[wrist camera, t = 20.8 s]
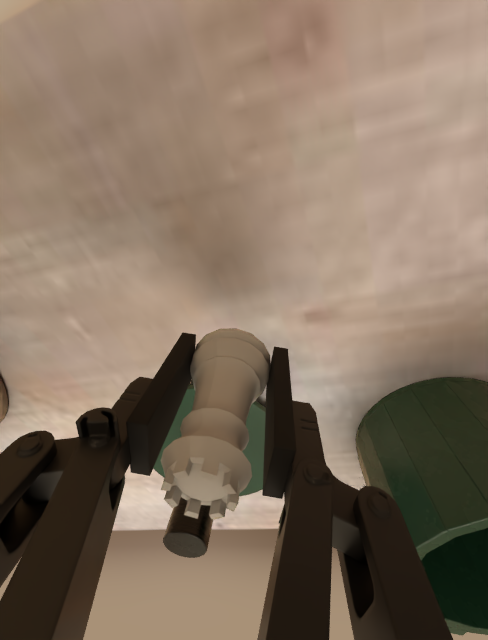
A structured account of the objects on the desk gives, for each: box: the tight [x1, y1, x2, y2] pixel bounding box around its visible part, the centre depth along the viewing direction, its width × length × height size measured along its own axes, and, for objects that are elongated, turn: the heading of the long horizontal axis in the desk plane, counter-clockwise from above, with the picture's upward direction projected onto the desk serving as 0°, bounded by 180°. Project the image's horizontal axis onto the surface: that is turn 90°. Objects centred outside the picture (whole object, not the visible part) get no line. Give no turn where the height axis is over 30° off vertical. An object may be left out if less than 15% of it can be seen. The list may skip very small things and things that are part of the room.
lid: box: [153, 385, 266, 558], centre depth 23 cm, size 15×15×9 cm
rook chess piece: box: [161, 329, 271, 520], centre depth 12 cm, size 4×4×8 cm
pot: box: [356, 377, 488, 635], centre depth 20 cm, size 14×19×10 cm
